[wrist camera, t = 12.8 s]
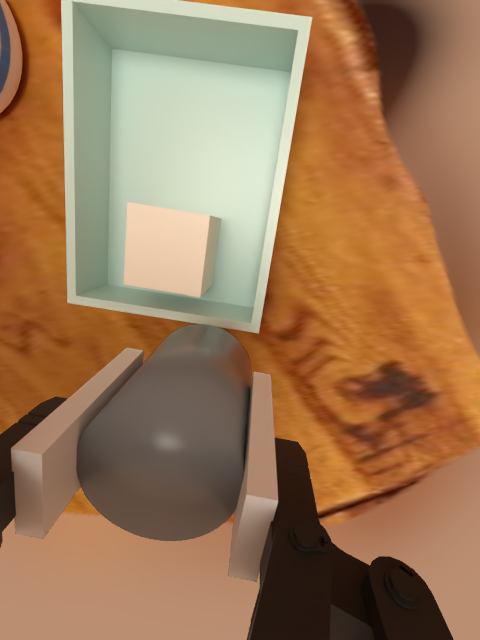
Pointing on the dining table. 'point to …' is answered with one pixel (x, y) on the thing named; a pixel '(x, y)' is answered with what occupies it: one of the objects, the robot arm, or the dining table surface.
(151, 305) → the teal tote
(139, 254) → the tan cube
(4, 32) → the supplement tub
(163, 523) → the charcoal cylinder
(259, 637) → the robot arm
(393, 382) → the dining table surface
